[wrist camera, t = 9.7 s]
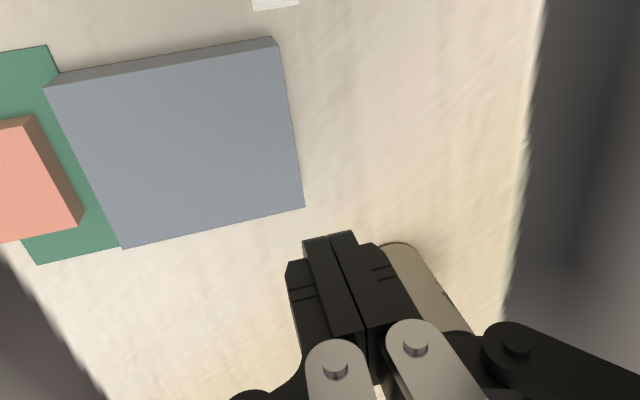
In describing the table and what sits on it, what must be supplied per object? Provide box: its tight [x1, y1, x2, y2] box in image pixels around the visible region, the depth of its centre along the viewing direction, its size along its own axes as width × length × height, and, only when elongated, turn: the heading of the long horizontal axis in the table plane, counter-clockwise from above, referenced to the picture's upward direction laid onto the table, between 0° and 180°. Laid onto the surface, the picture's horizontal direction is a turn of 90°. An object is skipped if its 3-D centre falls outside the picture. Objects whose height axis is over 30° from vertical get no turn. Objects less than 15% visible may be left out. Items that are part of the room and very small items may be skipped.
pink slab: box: [0, 114, 85, 244], centre depth 32 cm, size 9×6×2 cm, turn 7°
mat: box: [0, 45, 120, 265], centre depth 33 cm, size 18×9×1 cm, turn 7°
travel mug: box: [380, 244, 476, 336], centre depth 41 cm, size 8×8×18 cm
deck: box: [42, 36, 306, 250], centre depth 34 cm, size 14×16×4 cm
